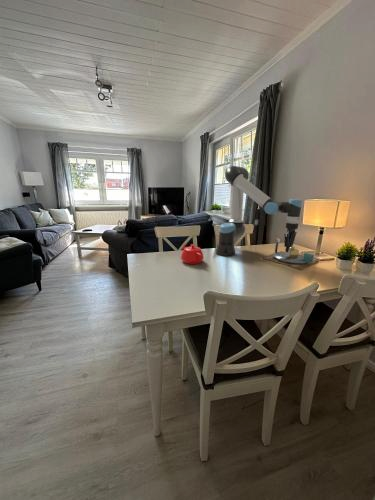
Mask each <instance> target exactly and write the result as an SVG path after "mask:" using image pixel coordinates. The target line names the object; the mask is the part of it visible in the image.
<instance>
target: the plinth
mask: <svg viewBox="0 0 375 500" xmlns="http://www.w3.org/2000/svg"><path fill="white" fill-rule="evenodd" d="M279 252H284V250H280V251H279ZM261 259H262V260H266V261H269V262H272V263H276V264H280V265H282V266H286V267H289V268H293V269H296V270H299V271H302V270H304V269H306V268H309V267H310V266H312V265H315V264H317V263H319V262H320V261H319V259H313V262H308V263H306V264H291V263H285V262H281V261H278V260H276V259H274V258H273V253H272V254H269V255H265V256H262V257H261Z"/></svg>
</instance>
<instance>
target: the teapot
mask: <svg viewBox="0 0 375 500" xmlns="http://www.w3.org/2000/svg"><path fill="white" fill-rule="evenodd" d="M182 247H183V251H182V252H181V255H180V259H181V260H182V262H184V263H185V264H187V263H188V264H187V265H197V263H198V264H199V263H202V262H203V260H204V253H203V251H202V248H201V247H199V246H195V244H190V246H186V244H185V243H184V244H182Z"/></svg>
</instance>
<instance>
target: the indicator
mask: <svg viewBox="0 0 375 500" xmlns="http://www.w3.org/2000/svg"><path fill="white" fill-rule="evenodd" d="M280 241H281V238H275V239H274V243H275V242H276V243H275V247H274V253H275V252H278V249H279V243H280Z"/></svg>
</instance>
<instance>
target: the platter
mask: <svg viewBox="0 0 375 500" xmlns="http://www.w3.org/2000/svg"><path fill="white" fill-rule="evenodd" d="M272 254H273V258H274V259H276V260H278V261H281V262H285V263H291V264H306V263H308V262H313V259H314V258H315V254H311V253H307V252H304V253H303V254H301V253H299V254H298V258H288V257H285V256H284V254H285V251H283V252H280V251H277V252H275V251H274V252H273V253H272Z"/></svg>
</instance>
